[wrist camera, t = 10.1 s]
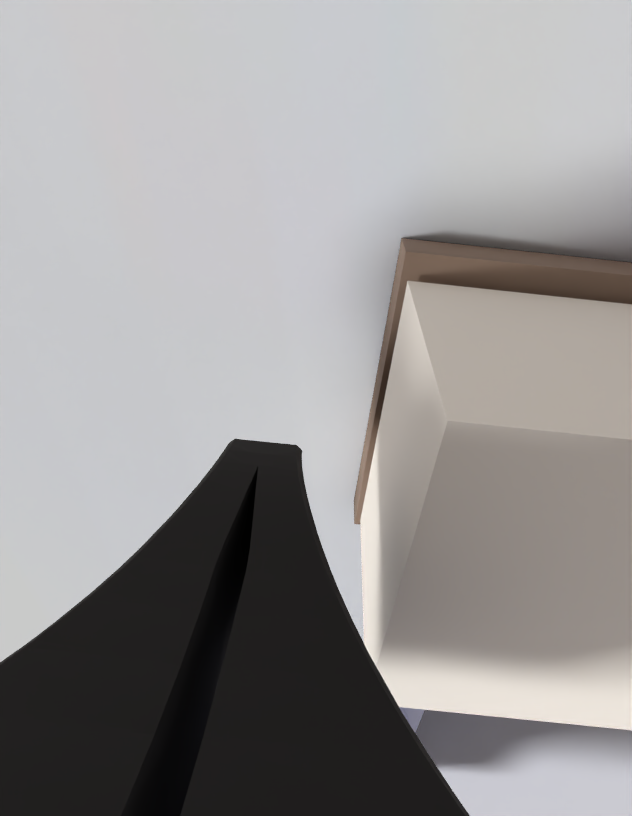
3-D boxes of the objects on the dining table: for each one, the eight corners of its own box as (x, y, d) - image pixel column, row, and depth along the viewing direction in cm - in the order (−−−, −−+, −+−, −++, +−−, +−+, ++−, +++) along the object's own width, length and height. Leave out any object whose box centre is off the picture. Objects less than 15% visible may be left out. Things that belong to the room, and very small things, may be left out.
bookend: (622, 546, 14) (735, 740, 10) (360, 519, 14) (365, 704, 10) (768, 319, 10) (1044, 482, 6) (407, 280, 10) (447, 420, 6)
